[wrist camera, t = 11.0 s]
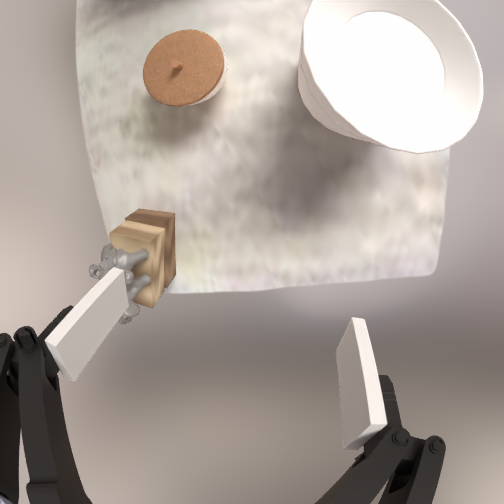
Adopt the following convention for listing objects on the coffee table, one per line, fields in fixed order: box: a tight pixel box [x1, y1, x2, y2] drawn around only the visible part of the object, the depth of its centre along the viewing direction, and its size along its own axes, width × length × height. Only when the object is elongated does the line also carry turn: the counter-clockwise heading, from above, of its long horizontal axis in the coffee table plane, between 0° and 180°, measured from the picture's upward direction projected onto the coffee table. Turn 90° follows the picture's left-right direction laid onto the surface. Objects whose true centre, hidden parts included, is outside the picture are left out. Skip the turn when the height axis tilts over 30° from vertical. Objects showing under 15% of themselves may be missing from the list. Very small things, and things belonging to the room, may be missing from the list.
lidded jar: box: [143, 30, 228, 106], centre depth 29 cm, size 11×11×9 cm
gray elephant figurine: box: [89, 244, 151, 324], centre depth 36 cm, size 9×12×8 cm
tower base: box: [125, 209, 176, 288], centre depth 45 cm, size 12×7×5 cm, turn 174°
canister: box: [298, 0, 483, 154], centre depth 22 cm, size 16×16×20 cm
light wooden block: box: [110, 220, 165, 308], centre depth 41 cm, size 12×7×5 cm, turn 170°
